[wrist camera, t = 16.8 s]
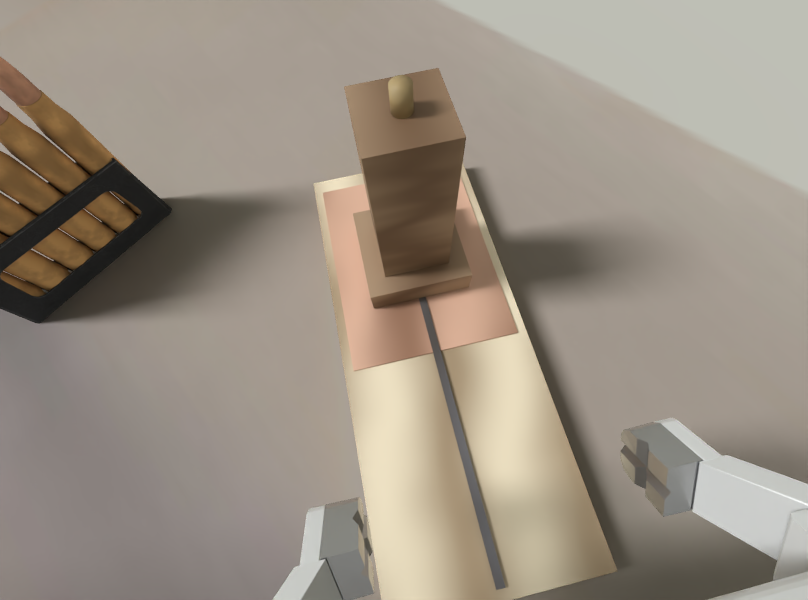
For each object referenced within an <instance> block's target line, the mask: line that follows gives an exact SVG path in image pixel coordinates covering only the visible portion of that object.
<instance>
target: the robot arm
mask: <svg viewBox="0 0 808 600" xmlns="http://www.w3.org/2000/svg"><path fill="white" fill-rule="evenodd" d="M621 441H622V442H623V443H624V444H625V446H624V447H623V449H622V450H621V462H622V465H623V468H624V470H625V472H626V473H627V475H628V477H629V478H630V479H631V480H632V481H633V483H634V484H636V485H638V486H640V487H642V488H645V496H646V498H647V499H648V500H649V501H650V502H651V503H652V504H653V506H654V507H655V508H656V509H657V510H658V511H659V513H660V514H661V515H662V516H663V517H664V516H668V515H673V514H677V513H681V512H686V511H690V510H693V511H692V512H694V513H696V514H697V515H699V516H701V517H703V518H704V519H706V520H708V521H709V522H711V523H713V524H715V525H716V526H718V527H720V528H722V529H723V530H725V531H727V532H729V533H730V534H732V535H734V536H735V537H737V538H739V539H741V540H742V541H744V542H746V543H748V544H749V545H751V546H753V547H755V548H756V549H758V550H760V551H761V552H763V553H765V554H767V555H768V556H770V557H772V558H774V559H775V560H777V564H776V567H775V571H774V574H773V581H772V582H768V583H765V584H761V585H758V586H754V587H751V588H747V589H743V590H740V591H736V592H733V593H729V594H725V595H722V596H718V597H715V598H711V599H707V600H808V484H806V483H804V482H801V481H798V480H795V479H793V478H790V477H787V476H784V475H782V474H779V473H776V472H773V471H770V470H768V469H765V468H762V467H759V466H757V465H754V464H751V463H748V462H746V461H743V460H740V459H737V458H734V457H732V456H729V455H724V456H722V455H720V454H719V453H718V452H717V451H715V450H714V449H713V448H712V447H710V446H709V445H708V444H707V443H705V442H704V441H703V440H702V439H700V438H699V437H698V436H697V435H695V434H694V433H693V432H692V431H690V430H689V429H688V428H687V427H685V426H684V425H683V424H681V423H680V422H679V421H678V420H676V419H674V418H668V419H664V420H660V421H656V422H651V423H647V424H644V425H640V426H636V427H632V428H629V429H625V430H623V432H622V433H621ZM371 553H372V539H371V532H370V526H369V522H368V519H367V516H366V515H364V514H363V504H362V501H361V498H360V497H357V498H353V499H349V500H344V501H340V502H335V503H331V504H326V505H323V506H318V507H314V508H310V509H309V510H308V513H307V516H306V523H305V531H304V538H303V546H302V553H301V560H300V565H299V566H296V567H294V569H293V570H292V572H291V573H290V575H289V576H288V578H287V579H286V581H285V582H284V583H283V585H282V586H281V588H280V589H279V591H278V592H277V594H276V595H275V597H274V598H273V600H354V599H357V598H360V597H364V596H367V595H370V594H374V575H373V566H372V563H371V560H370V555H371Z"/></svg>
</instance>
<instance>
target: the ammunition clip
mask: <svg viewBox="0 0 808 600" xmlns="http://www.w3.org/2000/svg"><path fill="white" fill-rule="evenodd" d="M0 90H1V91H2V92H4V93H5V94H6V95H7V96H8V97H9V98H10V99H11V100H13V101H14V102H15V103H16V104H17V106H18V107H19V108H20V109H21V110H22V111H24V112H25V113H26V114H27V115H28V116H29V117H30V118H31V119H32V120H33V121H34V122H35V124H36V125H37V126H38V127H39V129H40V130H41V131H42V132H43V133H44V134H45V135H46V136H47V137H48V138H49V139H51V140H52V141H53V142H54V143H55V144H56V145H57V146H59V147H60V148H61V149H62V150H63V151H64V152H66V153H67V154H68V155H69V156H70V157H71V158H73V159H74V160H75V161H76V162H75V163H74V162H73V161H72V160H71V159H70V158H68V157H67V156H66V155H65V154H64V153H62V152H61V151H60V150H59V149H58V148H57V147H55V146H54V145H53V144H52V143H51V142H49V141H48V140H47V139H46V138H45V137H43V136H42V135H41V134H39V133H38V132H36V131H34V130H33V129H31V128H29V127H28V126H26V125H24V124H23V123H22V122H21V121H19V120H18V119H17V118H15V117H14V116H13V115H12V114H10V113H9V112H8V111H5V110H4V109H3V108H2V107H1V106H0V142H1V143H2V144H3V145H4V146H5V147H6V148H7V149H8V151H9V152H10V153H11V154H13V155H14V156H15V157H16V158H18V159H19V160H20V161H22V162H23V163H24V164H26V165H27V166H28V167H30V168H31V169H32V170H34V171H35V172H36V173H38V174H39V175H40V176H42V177H43V178H44V179H46V180H47V181H48V183H47V182H45V181H44V180H42V179H41V178H40V177H38V176H37V175H36V174H34V173H33V172H31V171H30V170H29V169H27V168H26V167H25V166H23V165H22V164H20V163H19V162H18V161H16V160H15V159H13V158H12V157H10V156H9V155H7V154H5V153H3V152H1V151H0V190H1V191H2V192H4V193H5V194H7V195H8V196H10V197H12V198H13V199H15V200H16V201H18V202H19V204H17V203H16V202H14V201H13V200H11V199H9V198H8V197H6V196H5V195H3V194H1V193H0V309H3V310H5V311H8V312H10V313H13V314H15V315H17V316H20V317H22V318H25V319H27V320H30V321H32V322H35V323H40V322H42V321H43V320H44V319H45V318H46V317H48V316H49V315H50V314H51V313H52V312H53V311H55V310H56V309H57V308H58V307H59V306H61V305H62V304H63V303H64V302H65V301H67V300H68V299H69V298H70V297H71V296H72V295H74V294H75V293H76V292H77V291H78V290H80V289H81V288H82V287H83V286H84V285H86V284H87V283H88V282H89V281H90V280H91V279H93V278H94V277H95V276H96V275H97V274H99V273H100V272H101V271H102V270H103V269H105V268H106V267H107V266H108V265H109V264H111V263H112V262H113V261H114V260H115V259H116V258H118V257H119V256H120V255H121V254H122V253H124V252H125V251H126V250H127V249H128V248H130V247H131V246H132V245H133V244H134V243H135V242H137V241H138V240H139V239H140V238H141V237H143V236H144V235H145V234H146V233H147V232H149V231H150V230H151V229H152V228H153V227H154V226H156V225H157V224H158V223H159V222H160V221H162V220H163V219H164V218H165V217H166V216H168V215H169V214H170V213H171V208H170V207H169V206H168V205H167V204H166V203H165V202H163V201H162V200H161V199H160V198H159V197H158V196H157V195H156V194H154V193H153V192H152V191H151V190H150V189H149V188H148V187H146V186H145V185H144V184H143V183H142V182H141V181H140V180H139V179H137V178H136V177H135V176H134V175H133V174H132V173H131V172H130V171H129V170H128V169H127V168H126V167H125V166H124V165H123V164H122V163H121V162H120V161H118V160H117V159H116V158H115V157H114V156H113V155H112V154H111V153H110V152H109V151H108V150H107V149H106V148H105V147H104V146H103V145H102V144H101V143H100V142H99V141H98V140H97V139H96V138H95V137H94V136H93V135H92V134H91V133H90V132H89V131H87V130H86V129H85V128H84V127H83V126H82V125H81V124H80V123H79V122H78V121H77V120H76V119H75V118H74V117H73V116H72V115H71V114H69V113H68V112H67V111H65V110H64V109H62V108H61V107H60V106H58V105H57V104H55V103H54V102H53V101H52V100H51V99H50V98H49V97H48V96H46V95H45V94H44V93H43V92H42V91H41V90H39V89H38V88H37V87H36V86H35V85H34V84H32V83H31V82H30V81H29V80H28V79H27V78H26V77H25V76H24V75H23V74H21V73H20V72H19V71H18V70H17V69H15V68H14V67H13V66H12V65H11V64H9V63H8V62H7V61H5V60H4V59H3V58H1V57H0ZM109 191H111V192H112V193H113V194H114V195H115V196H116V197H118V198H119V199H120V200H121V201H122V202H123V203H125V204H123V203H122V202H121V201H120V200H118V199H117V198H116V197H115V196H114V195H112V194H111V193H110V192H109ZM83 208H84V209H86V210H87V211H88V212H90V213H91V214H93V215H94V216H95V217H97V218H98V219H99V220H101V221H102V222H100V221H99V220H98V219H96V218H95V217H93V216H92V215H91V214H89V213H88V212H87V211H85V210H84V209H83ZM58 228H60V229H61V230H63V231H65V232H66V233H68V234H69V235H71V236H72V237H74V238H75V239H77V240H79V241H77V240H75V239H74V238H72V237H70V236H69V235H67V234H66V233H64V232H62V231H61V230H59V229H58ZM32 248H33V249H34V250H36V251H38V252H40V253H42V254H44V255H45V256H47V257H49V258H51V259H53V260H54V261H52V260H50V259H48V258H46V257H44V256H42V255H40V254H38V253H36V252H35V251H33V250H31V249H32ZM3 271H5V272H8V273H10V274H12V275H14V276H12V275H10V274H8V273H5V272H3ZM15 276H16V277H15ZM17 277H19V278H21V279H23V280H21V279H19V278H17ZM24 280H25V281H24Z"/></svg>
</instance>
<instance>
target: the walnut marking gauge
mask: <svg viewBox="0 0 808 600" xmlns="http://www.w3.org/2000/svg"><path fill="white" fill-rule="evenodd" d="M344 89H345V93H346V98H347V103H348V108H349V112H350V117H351V122H352V127H353V131H354V136H355V141H356V146H357V150H358V155H359V160H360V165H361V169H362V174H363V179H364V184H365V188H366V193H367V198H368V203H369V207H370V210H367V211H362V212H357V213H353V217H354V221H355V226H356V231H357V236H358V241H359V245H360V250H361V255H362V260H363V264H364V269H365V274H366V279H367V284H368V288H369V293H370V298H371V301H372V304H373V307H374V308H379V307H383V306H387V305H392V304H396V303H401V302H405V301H409V300H414V299H418V298H423V297H427V296H431V295H436V294H440V293H445V292H449V291H453V290H458V289H462V288H467V287H469V285H470V281H471V278H472V273H471V270H470V267H469V264H468V261H467V258H466V255H465V252H464V249H463V246H462V243H461V240H460V237H459V234H458V232H457V229H456V226H455V223H454V221H455V214H456V207H457V199H458V192H459V185H460V177H461V170H462V163H463V155H464V148H465V141H466V136H465V134H464V131H463V129H462V126H461V123H460V121H459V118H458V116H457V113H456V111H455V108H454V106H453V103H452V101H451V98H450V96H449V93H448V91H447V88H446V86H445V83H444V81H443V78H442V76H441V73H440V71H439V68H436V69H431V70H426V71H421V72H415V73H410V74H405V75H398V76H395V77H390V78H385V79H380V80H375V81H370V82H365V83H360V84H355V85H350V86H345V87H344Z"/></svg>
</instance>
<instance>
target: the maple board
mask: <svg viewBox="0 0 808 600" xmlns="http://www.w3.org/2000/svg"><path fill="white" fill-rule="evenodd" d="M314 190H315V196H316V202H317V208H318V214H319V220H320V226H321V232H322V238H323V245H324V251H325V257H326V263H327V269H328V275H329V281H330V287H331V293H332V300H333V306H334V312H335V318H336V324H337V330H338V336H339V342H340V348H341V355H342V361H343V367H344V373H345V379H346V385H347V391H348V397H349V403H350V410H351V416H352V422H353V428H354V434H355V440H356V446H357V452H358V458H359V465H360V471H361V477H362V483H363V489H364V495H365V501H366V507H367V514H368V520H369V526H370V532H371V538H372V544H373V550H374V556H375V562H376V569H377V575H378V581H379V587H380V593H381V599H382V600H513V599H517V598H521V597H524V596H528V595H532V594H535V593H539V592H543V591H547V590H550V589H554V588H558V587H561V586H565V585H569V584H573V583H576V582H580V581H584V580H587V579H591V578H595V577H598V576H602V575H606V574H610V573H613V572H617V568H616V565H615V563H614V560H613V557H612V555H611V552H610V550H609V547H608V544H607V542H606V539H605V536H604V534H603V531H602V528H601V526H600V523H599V521H598V518H597V515H596V513H595V510H594V507H593V505H592V502H591V499H590V497H589V494H588V492H587V489H586V486H585V484H584V481H583V478H582V476H581V473H580V470H579V468H578V465H577V463H576V460H575V457H574V455H573V452H572V449H571V447H570V444H569V441H568V439H567V436H566V434H565V431H564V428H563V426H562V423H561V420H560V418H559V415H558V413H557V410H556V407H555V405H554V402H553V399H552V397H551V394H550V391H549V389H548V386H547V384H546V381H545V378H544V376H543V373H542V370H541V368H540V365H539V362H538V360H537V357H536V355H535V352H534V349H533V347H532V344H531V341H530V339H529V336H528V333H527V331H526V328H525V326H524V323H523V320H522V318H521V315H520V312H519V310H518V307H517V304H516V302H515V299H514V297H513V294H512V291H511V289H510V286H509V283H508V281H507V278H506V275H505V273H504V270H503V268H502V265H501V262H500V260H499V257H498V254H497V252H496V249H495V246H494V244H493V241H492V239H491V236H490V233H489V231H488V228H487V225H486V223H485V220H484V217H483V215H482V212H481V210H480V207H479V204H478V202H477V199H476V196H475V194H474V191H473V188H472V186H471V183H470V181H469V178H468V175H467V173H466V170H465V167H464V165H463V163H462V170H461V177H460V185H459V192H458V199H457V207H456V214H455V221H454V223H455V226H456V229H457V232H458V234H459V237H460V240H461V243H462V246H463V249H464V252H465V255H466V258H467V261H468V264H469V267H470V270H471V273H472V278H471V281H470V285H469V287H467V288H462V289H458V290H453V291H449V292H445V293H440V294H436V295H431V296H427V297H423V298H418V299H414V300H409V301H405V302H401V303H396V304H392V305H387V306H383V307H379V308H374V307H373V304H372V301H371V298H370V293H369V288H368V284H367V279H366V274H365V269H364V264H363V260H362V255H361V250H360V245H359V241H358V236H357V231H356V226H355V221H354V217H353V213H357V212H362V211H367V210H370V207H369V203H368V198H367V193H366V188H365V184H364V179H363V174H357V175H352V176H347V177H343V178H338V179H333V180H328V181H323V182H319V183H314Z"/></svg>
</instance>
